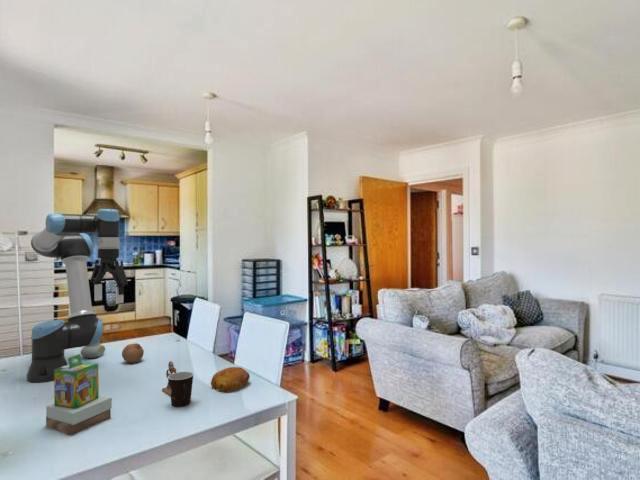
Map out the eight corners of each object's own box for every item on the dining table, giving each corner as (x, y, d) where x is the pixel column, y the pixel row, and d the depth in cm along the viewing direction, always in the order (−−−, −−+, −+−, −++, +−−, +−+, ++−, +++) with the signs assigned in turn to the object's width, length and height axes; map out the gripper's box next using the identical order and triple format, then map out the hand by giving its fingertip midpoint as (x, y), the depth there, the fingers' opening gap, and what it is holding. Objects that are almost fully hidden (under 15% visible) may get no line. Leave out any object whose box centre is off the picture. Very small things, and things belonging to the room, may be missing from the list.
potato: (255, 387, 164) (257, 367, 165) (231, 395, 151) (233, 373, 151) (227, 381, 171) (229, 362, 172) (201, 388, 157) (203, 367, 158)
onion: (141, 367, 193) (150, 349, 193) (123, 367, 186) (133, 348, 186) (132, 357, 199) (141, 339, 199) (114, 356, 191) (124, 337, 191)
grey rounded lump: (95, 360, 196) (94, 339, 196) (78, 360, 196) (78, 339, 196) (107, 353, 207) (107, 334, 207) (91, 353, 207) (91, 334, 207)
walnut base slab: (46, 427, 127) (46, 416, 127) (86, 411, 138) (86, 401, 138) (70, 436, 121) (70, 425, 121) (110, 419, 132) (110, 408, 132)
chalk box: (76, 409, 124) (75, 361, 124) (53, 406, 126) (52, 359, 126) (100, 397, 133) (99, 353, 133) (78, 394, 135) (77, 351, 135)
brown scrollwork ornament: (161, 390, 156) (161, 360, 155) (171, 388, 158) (171, 358, 158) (171, 397, 149) (170, 365, 149) (181, 394, 152) (181, 362, 152)
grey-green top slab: (46, 417, 126) (46, 406, 126) (85, 401, 138) (85, 391, 138) (73, 425, 121) (72, 413, 121) (111, 408, 132) (111, 397, 132)
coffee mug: (172, 399, 147) (171, 372, 147) (196, 398, 148) (195, 371, 148) (162, 412, 136) (162, 383, 136) (188, 411, 136) (188, 382, 136)
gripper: (80, 247, 161) (80, 300, 162) (119, 248, 149) (120, 305, 150) (98, 247, 168) (98, 298, 168) (137, 248, 156) (137, 302, 156)
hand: (108, 301), depth 159 cm, fingers open, 13 cm apart
